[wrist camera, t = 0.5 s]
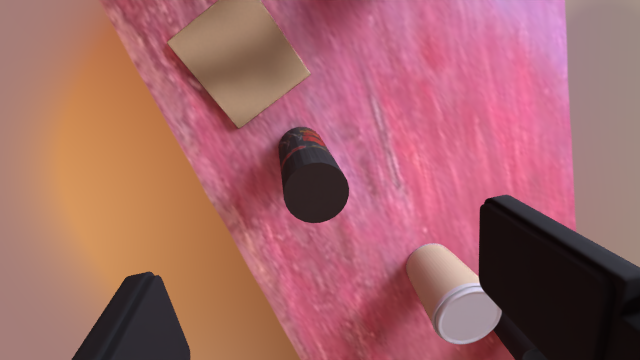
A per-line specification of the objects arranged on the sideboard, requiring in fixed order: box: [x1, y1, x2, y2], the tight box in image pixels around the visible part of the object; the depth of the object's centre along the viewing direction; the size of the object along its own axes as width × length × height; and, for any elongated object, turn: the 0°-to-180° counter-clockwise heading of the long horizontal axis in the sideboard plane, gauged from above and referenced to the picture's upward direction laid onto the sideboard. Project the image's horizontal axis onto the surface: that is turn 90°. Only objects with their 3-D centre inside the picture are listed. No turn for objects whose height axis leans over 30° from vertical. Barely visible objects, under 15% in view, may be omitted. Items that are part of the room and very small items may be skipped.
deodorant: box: [279, 127, 349, 223], centre depth 37 cm, size 6×6×15 cm
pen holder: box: [493, 311, 548, 360], centre depth 56 cm, size 9×9×10 cm
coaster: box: [167, 0, 311, 129], centre depth 38 cm, size 12×11×1 cm
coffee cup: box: [406, 244, 502, 344], centre depth 48 cm, size 9×9×12 cm
